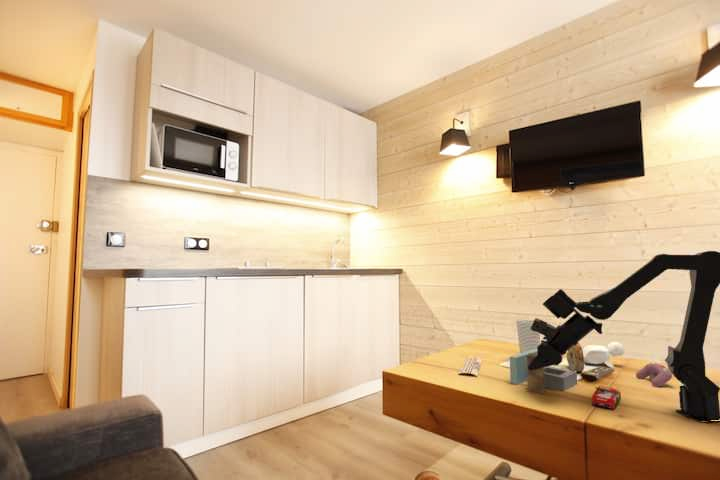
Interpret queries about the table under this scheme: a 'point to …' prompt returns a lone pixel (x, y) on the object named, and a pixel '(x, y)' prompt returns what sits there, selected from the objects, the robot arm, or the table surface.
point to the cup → (527, 336)
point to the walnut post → (535, 377)
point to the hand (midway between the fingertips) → (530, 366)
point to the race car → (606, 397)
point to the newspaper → (471, 366)
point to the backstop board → (519, 367)
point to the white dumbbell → (602, 353)
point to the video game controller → (655, 374)
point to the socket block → (559, 378)
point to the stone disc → (575, 358)
